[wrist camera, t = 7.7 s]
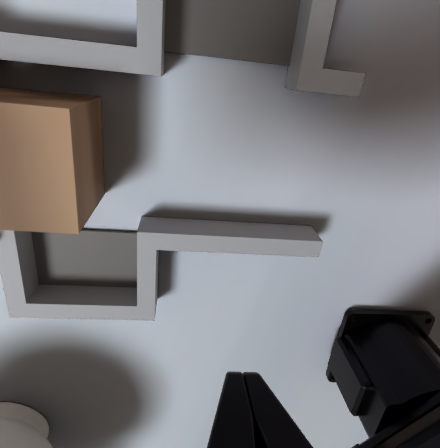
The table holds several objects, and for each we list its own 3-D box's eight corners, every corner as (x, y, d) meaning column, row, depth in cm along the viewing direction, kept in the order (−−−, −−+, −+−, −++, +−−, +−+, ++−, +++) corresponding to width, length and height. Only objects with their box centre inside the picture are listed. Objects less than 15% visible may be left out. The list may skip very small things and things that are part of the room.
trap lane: (374, -46, 15) (414, -69, 12) (293, 303, 23) (307, 335, 20) (-72, -116, 13) (-141, -163, 10) (7, 295, 21) (-20, 329, 18)
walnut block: (101, 96, 17) (69, 108, 12) (105, 193, 19) (78, 234, 14) (-9, 85, 16) (-85, 94, 12) (7, 186, 18) (-52, 227, 14)
